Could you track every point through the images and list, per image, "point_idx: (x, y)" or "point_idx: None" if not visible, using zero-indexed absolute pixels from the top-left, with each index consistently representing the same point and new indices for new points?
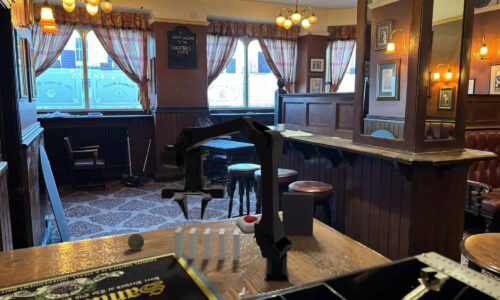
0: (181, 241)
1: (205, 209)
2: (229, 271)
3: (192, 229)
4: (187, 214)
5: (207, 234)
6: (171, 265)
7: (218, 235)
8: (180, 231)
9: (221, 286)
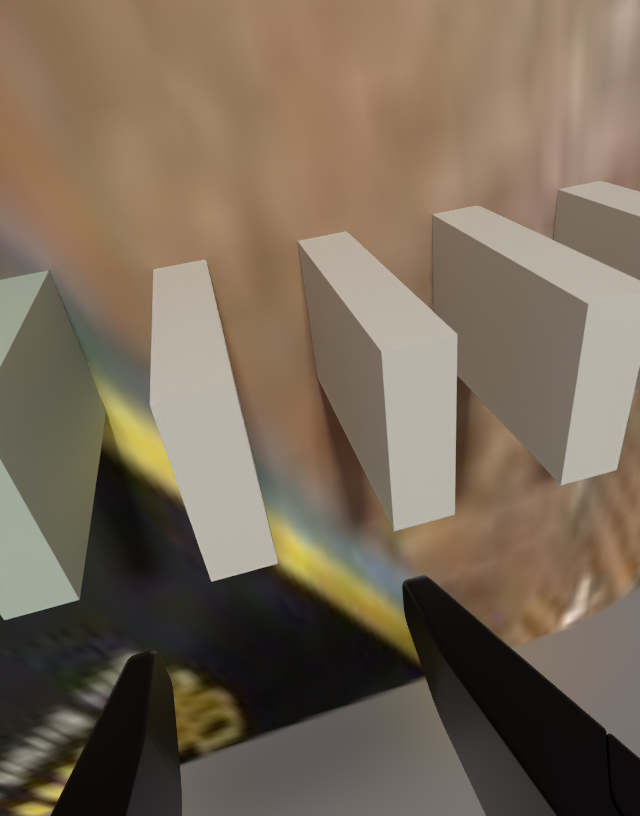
0: (63, 424)
1: (588, 742)
2: (520, 478)
3: (196, 459)
4: (171, 805)
5: (438, 514)
6: (123, 534)
7: (552, 474)
8: (58, 556)
9: (489, 607)
